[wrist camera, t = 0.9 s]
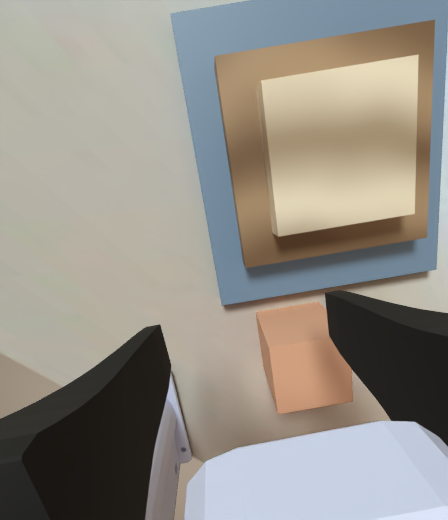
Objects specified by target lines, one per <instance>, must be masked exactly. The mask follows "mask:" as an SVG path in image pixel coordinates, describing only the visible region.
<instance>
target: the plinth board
mask: <svg viewBox="0 0 448 520" xmlns="http://www.w3.org/2000/svg"><path fill="white" fill-rule="evenodd" d="M170 15H171V21H172V26H173V32H174V38H175V43H176V49H177V55H178V60H179V66H180V72H181V77H182V83H183V89H184V94H185V100H186V106H187V111H188V117H189V123H190V128H191V134H192V140H193V145H194V151H195V156H196V162H197V168H198V173H199V179H200V185H201V190H202V196H203V202H204V207H205V213H206V219H207V224H208V230H209V236H210V241H211V247H212V253H213V258H214V264H215V270H216V275H217V281H218V287H219V292H220V298H221V303H222V305H228V304H234V303H240V302H246V301H252V300H258V299H264V298H270V297H276V296H282V295H288V294H294V293H300V292H305V291H311V290H317V289H323V288H329V287H335V286H341V285H347V284H353V283H359V282H365V281H371V280H377V279H383V278H389V277H395V276H401V275H407V274H413V273H418V272H424V271H430V270H436V265H437V244H438V223H439V202H440V181H441V159H442V138H443V117H444V96H445V75H446V54H447V32H448V0H250V1H244V2H237V3H231V4H225V5H219V6H213V7H207V8H201V9H195V10H189V11H183V12H177V13H170Z"/></svg>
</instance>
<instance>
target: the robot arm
mask: <svg viewBox="0 0 448 520" xmlns="http://www.w3.org/2000/svg"><path fill="white" fill-rule="evenodd" d="M325 298H326V309H327V320H328V331H329V336H330V338H331V340H332V342H333V343H334V345H335V347H336V348H337V350H338V351H339V353H340V355H341V356H342V357H343V358H344V360H345V361H346V362H347V364H348V365H349V366H350V367H351V369H352V370H353V371H354V372H355V373H356V375H357V376H358V377H359V378H360V380H361V381H362V382H363V383H364V384H365V386H366V387H367V388H368V389H369V391H370V392H371V393H372V394H373V396H374V397H375V398H376V399H377V401H378V402H379V403H380V405H381V406H382V407H383V409H384V410H385V412H386V413H387V415H388V416H389V418H390V419H391V421H373V422H368V423H363V424H358V425H352V426H347V427H342V428H336V429H331V430H326V431H321V432H315V433H310V434H305V435H300V436H294V437H289V438H284V439H279V440H273V441H268V442H263V443H258V444H252V445H247V446H242V447H237V448H235V449H232V450H230V451H228V452H225V453H223V454H220V455H218V456H216V457H213V458H211V459H209V460H207V461H206V462H205V463H204V464H203V465H202V467H201V468H200V469H199V470H198V471H197V473H196V474H195V475H194V476H193V477H192V479H191V480H190V481H189V482H188V484H187V490H186V503H185V514H184V520H448V313H442V312H435V311H429V310H422V309H417V308H412V307H407V306H403V305H398V304H394V303H390V302H386V301H382V300H378V299H374V298H370V297H366V296H363V295H359V294H355V293H351V292H346V291H340V290H339V291H333V292H328V293H325ZM183 447H185V448H183ZM191 457H192V453H191V449H190V445H189V441H188V437H187V433H186V429H185V425H184V421H183V417H182V413H181V409H180V405H179V401H178V397H177V393H176V388H175V384H174V380H173V376H172V373H171V363H170V359H169V355H168V352H167V348H166V344H165V341H164V337H163V333H162V330H161V326H160V325H155V326H149V327H146V328H144V329H142V330H141V331H140V332H138V333H137V334H136V335H135V336H133V337H132V338H131V339H130V340H128V341H127V342H126V343H125V344H123V345H122V346H121V347H120V348H119V349H117V350H116V351H115V352H114V353H112V354H111V355H110V356H108V357H107V358H106V359H104V360H103V361H102V362H100V363H99V364H98V365H96V366H95V367H94V368H92V369H91V370H89V371H88V372H86V373H85V374H83V375H82V376H80V377H79V378H77V379H76V380H74V381H73V382H71V383H69V384H68V385H66V386H64V387H62V388H61V389H59V390H57V391H55V392H53V393H52V394H50V395H48V396H46V397H44V398H43V399H41V400H39V401H37V402H35V403H33V404H31V405H29V406H27V407H25V408H23V409H21V410H19V411H17V412H14V413H12V414H10V415H8V416H6V417H4V418H1V419H0V520H174V513H175V504H176V495H177V487H178V478H179V470H180V463H185V462H189V461H190V460H191Z"/></svg>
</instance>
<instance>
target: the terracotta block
mask: <svg viewBox="0 0 448 520" xmlns="http://www.w3.org/2000/svg"><path fill="white" fill-rule="evenodd" d="M256 317H257V324H258V331H259V338H260V345H261V352H262V359H263V366H264V370H265V373H266V376H267V380H268V383H269V386H270V390H271V393H272V396H273V400H274V403H275V406H276V410H277V413H278V414H283V413H288V412H294V411H300V410H306V409H312V408H317V407H323V406H329V405H335V404H341V403H347V402H352V401H353V390H352V369H351V367H350V366H349V365H348V364H347V362H346V361H345V360H344V358H343V357H342V356H341V355H340V353H339V351H338V350H337V348H336V347H335V345H334V343H333V342H332V340H331V338H330V336H329V331H328V320H327V310H326V309H325V308H324V307H323V306H322V305H321V304H320V303H319V302H313V303H307V304H301V305H295V306H289V307H283V308H277V309H271V310H265V311H259V312H256Z"/></svg>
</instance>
